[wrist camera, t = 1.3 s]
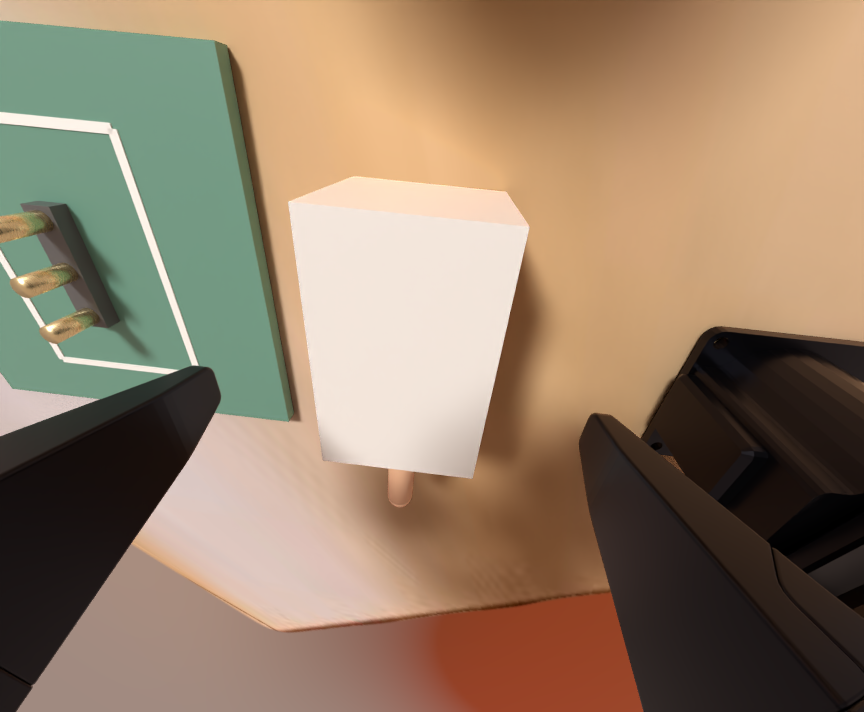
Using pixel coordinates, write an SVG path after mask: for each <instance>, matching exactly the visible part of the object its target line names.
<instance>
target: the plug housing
mask: <svg viewBox="0 0 864 712" xmlns="http://www.w3.org/2000/svg"><path fill="white" fill-rule="evenodd" d="M288 205H289V212H290V220H291V227H292V235H293V242H294V249H295V257H296V264H297V272H298V279H299V287H300V294H301V302H302V309H303V317H304V324H305V331H306V339H307V346H308V354H309V361H310V369H311V376H312V384H313V391H314V398H315V406H316V413H317V421H318V428H319V436H320V443H321V451H322V458H323V461H331V462H340V463H348V464H356V465H364V466H372V467H380V468H388V499H389V501H390V503H391V504H392V505H394V506H396V507H404V506H406V505H407V504H408V503H409V502H410V501H411V499H412V493H413V481H414V472H421V473H429V474H438V475H446V476H454V477H462V478H470V479H473V474H474V470H475V465H476V461H477V457H478V452H479V448H480V443H481V439H482V435H483V430H484V426H485V421H486V417H487V412H488V408H489V404H490V399H491V395H492V390H493V386H494V382H495V377H496V373H497V368H498V364H499V359H500V355H501V351H502V346H503V342H504V337H505V333H506V329H507V324H508V320H509V315H510V311H511V306H512V302H513V298H514V293H515V289H516V284H517V280H518V276H519V271H520V267H521V262H522V258H523V253H524V249H525V245H526V240H527V236H528V231H529V225H528V224H527V222H526V221H525V219H524V218H523V216H522V215H521V213H520V212H519V210H518V209H517V207H516V206H515V204H514V203H513V201H512V200H511V198H510V197H509V195H508V194H507V192H505V191H496V190H486V189H476V188H466V187H456V186H446V185H437V184H427V183H417V182H407V181H397V180H387V179H378V178H368V177H358V176H352V177H350V178H347V179H345V180H342V181H340V182H337V183H335V184H332V185H329V186H327V187H324V188H322V189H319V190H317V191H314V192H312V193H309V194H306V195H304V196H301V197H299V198H296V199H294V200H291V201H289V202H288Z"/></svg>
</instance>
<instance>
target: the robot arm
mask: <svg viewBox="0 0 864 712" xmlns="http://www.w3.org/2000/svg"><path fill="white" fill-rule="evenodd" d="M719 338H721V340H720V341H719V342H717V343H714V342H715V341H716V340H717V339H719ZM220 401H221V392H220V389H219V386H218V383H217V379H216V376H215V373H214V371H213V370H212V369H211V368H209V367H205V366H196V365H193V366H189V367H186V368H183V369H181V370H178V371H175V372H173V373H170V374H167V375H164V376H162V377H159V378H156V379H154V380H151V381H148V382H146V383H143V384H140V385H138V386H135V387H132V388H129V389H127V390H124V391H121V392H119V393H116V394H113V395H111V396H108V397H105V398H103V399H100V400H97V401H94V402H92V403H89V404H86V405H84V406H81V407H78V408H76V409H73V410H70V411H67V412H65V413H62V414H59V415H57V416H54V417H51V418H49V419H46V420H43V421H41V422H38V423H35V424H32V425H30V426H27V427H24V428H22V429H19V430H16V431H14V432H11V433H8V434H5V435H3V436H0V712H16V711H17V710H18V708H19V707H20V705H21V704H22V702H23V701H24V699H25V698H26V697H27V695H28V694H29V692H30V691H31V689H32V687H33V686H32V685H33V684H35V683H36V681H37V680H38V678H39V677H40V676H41V674H42V673H43V671H44V670H45V668H46V667H47V665H48V664H49V663H50V661H51V660H52V658H53V657H54V655H55V654H56V652H57V651H58V649H59V648H60V647H61V645H62V644H63V642H64V641H65V639H66V638H67V636H68V635H69V633H70V632H71V631H72V629H73V627H74V626H75V625H76V623H77V622H78V620H79V619H80V617H81V616H82V615H83V613H84V612H85V610H86V609H87V607H88V606H89V604H90V603H91V601H92V600H93V599H94V597H95V596H96V594H97V593H98V591H99V590H100V588H101V587H102V585H103V584H104V583H105V581H106V580H107V578H108V577H109V575H110V574H111V572H112V571H113V569H114V568H115V567H116V565H117V563H118V562H119V561H120V559H121V558H122V556H123V555H124V553H125V552H126V550H127V549H128V547H129V546H130V545H131V543H132V542H133V540H134V539H135V537H136V536H137V534H138V533H139V532H140V530H141V529H142V527H143V526H144V524H145V523H146V521H147V520H148V518H149V517H150V516H151V514H152V513H153V511H154V510H155V508H156V507H157V505H158V504H159V502H160V501H161V500H162V498H163V497H164V495H165V494H166V492H167V491H168V489H169V488H170V486H171V485H172V484H173V482H174V481H175V479H176V478H177V476H178V475H179V473H180V472H181V470H182V469H183V468H184V466H185V464H186V463H187V461H188V460H189V458H190V457H191V455H192V453H193V451H194V450H195V448H196V446H197V444H198V443H199V441H200V439H201V437H202V435H203V433H204V432H205V430H206V428H207V426H208V424H209V422H210V421H211V419H212V417H213V415H214V413H215V411H216V410H217V408H218V406H219V404H220ZM579 450H580V457H581V463H582V470H583V476H584V483H585V489H586V496H587V502H588V507H589V512H590V516H591V520H592V524H593V527H594V531H595V535H596V538H597V542H598V546H599V549H600V553H601V557H602V560H603V564H604V568H605V571H606V575H607V579H608V582H609V586H610V590H611V593H612V597H613V600H614V605H615V608H616V612H617V615H618V619H619V622H620V626H621V630H622V634H623V638H624V641H625V645H626V649H627V652H628V656H629V660H630V663H631V667H632V671H633V674H634V678H635V682H636V685H637V689H638V692H639V696H640V700H641V704H642V707H643V711H644V712H864V342H859V341H850V340H841V339H832V338H823V337H813V336H804V335H795V334H786V333H777V332H768V331H759V330H750V329H741V328H731V327H722V326H720V327H714V328H711V329H709V330H707V331H706V332H704V334H703V335H702V336H701V338H700V339H699V341H698V343H697V344H696V346H695V348H694V350H693V351H692V353H691V355H690V356H689V358H688V360H687V362H686V363H685V365H684V367H683V368H682V370H681V372H680V374H679V375H678V377H677V379H676V380H675V382H674V384H673V386H672V387H671V389H670V391H669V392H668V394H667V396H666V398H665V399H664V401H663V403H662V404H661V406H660V408H659V410H658V411H657V413H656V415H655V416H654V418H653V420H652V422H651V423H650V425H649V427H648V428H647V430H646V432H645V434H644V435H643V437H642V439H640V438H639V437H638V436H636V435H635V434H634V433H633V432H631V431H630V430H629V429H628V428H627V427H625V426H624V425H623V424H622V423H620V422H619V421H618V420H617V419H615V418H614V417H613V416H611V415H608V414H600V413H593V414H591V415H590V417H589V418H588V421H587V423H586V425H585V427H584V430H583V432H582V434H581V436H580V440H579ZM661 455H667V456H673V457H674V458H675V460H676V461H677V463H678V465H679V466H680V468H681V469H682V471H683V472H684V474H685V475H686V476H685V475H684V474H683V473H682V472H681V471H679V470H678V469H677V468H676V467H674V466H673V465H672V464H671V463H670V462H668V461H667V460H666V459H665V458H663V457H662V456H661Z"/></svg>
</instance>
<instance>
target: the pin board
mask: <svg viewBox="0 0 864 712" xmlns="http://www.w3.org/2000/svg"><path fill="white" fill-rule="evenodd" d="M193 365H196V366H205V367H209V368H211V369H212V370H213V371H214V373H215V376H216V379H217V383H218V386H219V389H220V392H221V401H220V404H219V406H218V408H217V410H216V411H215V413H220V414H229V415H237V416H245V417H254V418H262V419H270V420H279V421H287V422H289V421H290V419H291V417H292V416H293V414H294V411H293V406H292V400H291V395H290V389H289V384H288V378H287V373H286V367H285V362H284V356H283V351H282V345H281V340H280V334H279V329H278V323H277V318H276V312H275V307H274V301H273V296H272V290H271V285H270V279H269V274H268V268H267V263H266V257H265V252H264V246H263V241H262V235H261V230H260V224H259V219H258V213H257V208H256V202H255V197H254V191H253V186H252V180H251V175H250V169H249V164H248V158H247V153H246V147H245V142H244V136H243V131H242V125H241V120H240V114H239V109H238V103H237V98H236V92H235V87H234V81H233V76H232V70H231V65H230V59H229V54H228V48H227V45H225V44H222V43H219V42H217V41H214V40H203V39H192V38H181V37H171V36H160V35H149V34H138V33H128V32H117V31H106V30H95V29H85V28H74V27H63V26H52V25H42V24H31V23H20V22H9V21H0V372H1V374H2V375H3V376H4V378H5V379H6V380H7V382H8V383H9V384H10V386H11V387H12V388H13V389H20V390H29V391H37V392H45V393H54V394H62V395H70V396H79V397H87V398H95V399H103V398H105V397H108V396H111V395H113V394H116V393H119V392H121V391H124V390H127V389H129V388H132V387H135V386H138V385H140V384H143V383H146V382H148V381H151V380H154V379H156V378H159V377H162V376H164V375H167V374H170V373H173V372H175V371H178V370H181V369H183V368H186V367H189V366H193Z"/></svg>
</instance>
